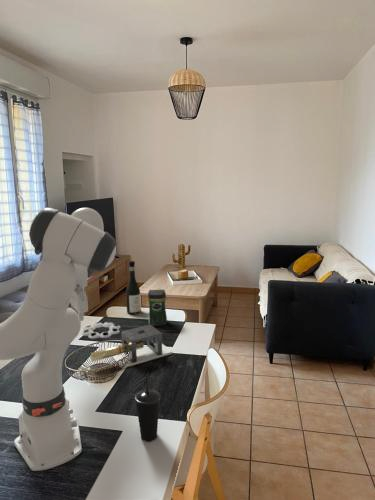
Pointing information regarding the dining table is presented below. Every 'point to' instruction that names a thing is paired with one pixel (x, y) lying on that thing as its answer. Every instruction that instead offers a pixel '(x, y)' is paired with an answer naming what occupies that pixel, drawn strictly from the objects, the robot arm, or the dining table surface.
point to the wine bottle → (133, 293)
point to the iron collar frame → (148, 333)
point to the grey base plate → (145, 355)
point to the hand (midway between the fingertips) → (77, 315)
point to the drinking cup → (148, 412)
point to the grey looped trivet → (97, 325)
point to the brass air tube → (114, 351)
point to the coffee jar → (157, 307)
